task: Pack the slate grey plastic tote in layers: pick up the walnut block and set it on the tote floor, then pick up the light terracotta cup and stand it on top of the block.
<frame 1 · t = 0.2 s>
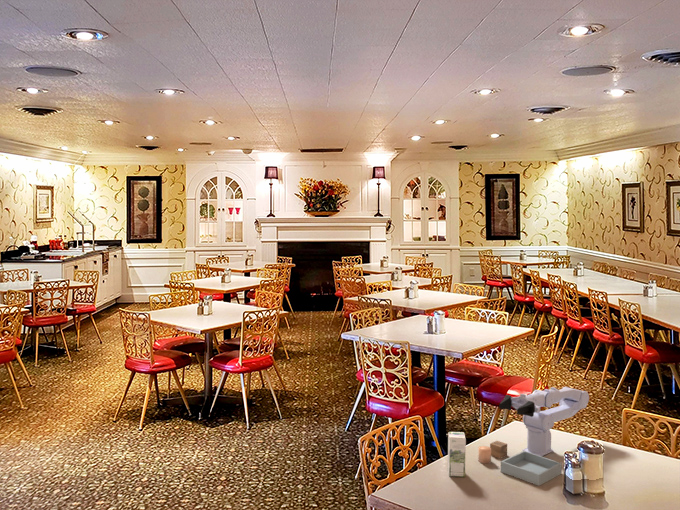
hand: (508, 408, 222), 21 cm above the table, tool horizontal, fingers open, 7 cm apart
tote: (530, 472, 216), on the table
syrup box: (456, 474, 215), on the table
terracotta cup: (484, 461, 226), on the table
walnut block: (498, 455, 232), on the table
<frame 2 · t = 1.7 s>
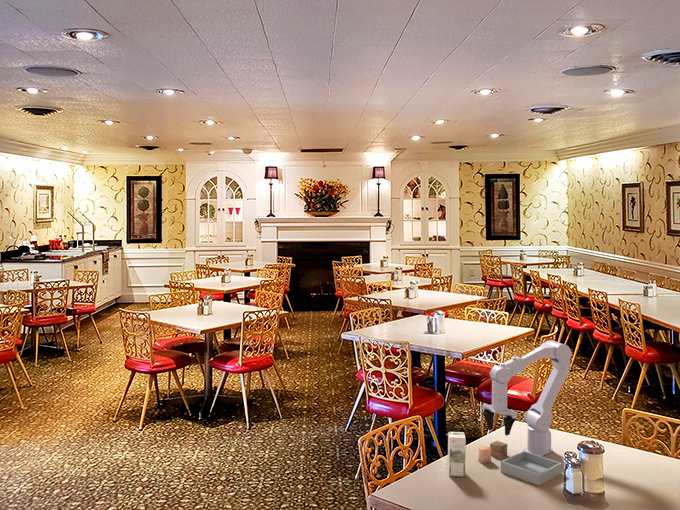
hand: (498, 432, 232), 9 cm above the table, tool pointing down, fingers open, 7 cm apart
nothing on the table moved.
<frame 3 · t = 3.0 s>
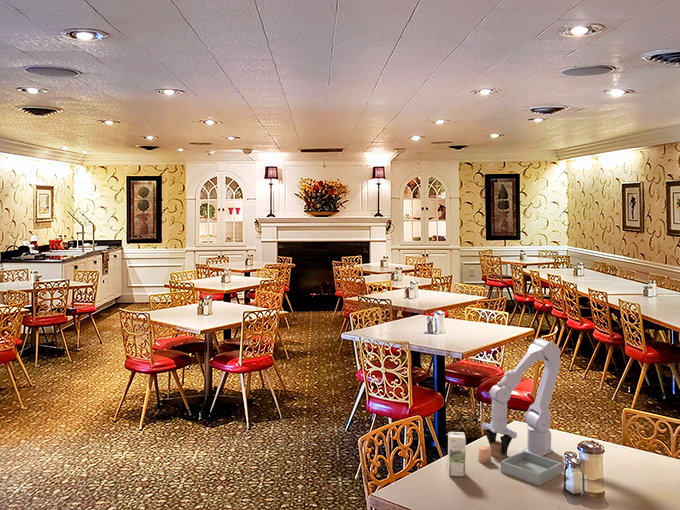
hand: (498, 451, 232), 1 cm above the table, tool pointing down, fingers closed on walnut block, 5 cm apart
walnut block: (498, 455, 232), on the table, touching gripper
everything else where it was.
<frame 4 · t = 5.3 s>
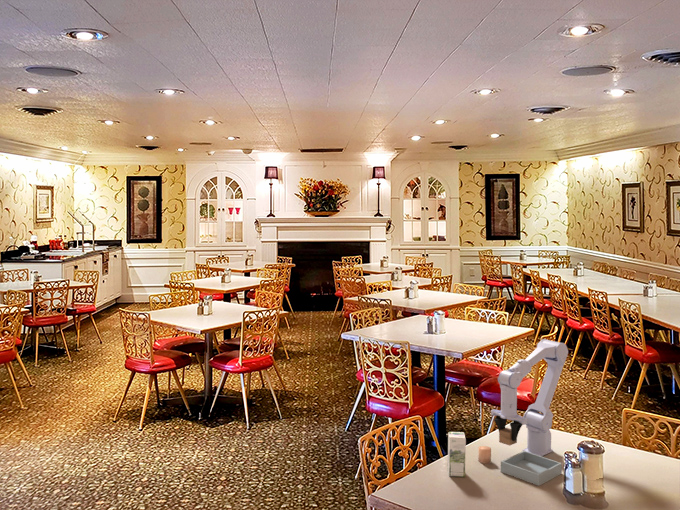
hand: (508, 438, 227), 8 cm above the table, tool pointing down, fingers closed on walnut block, 5 cm apart
walnut block: (507, 442, 227), point 7 cm above the table, touching gripper
everything else where it was.
when the fingers open (4 cm above the table, at t = 7.6 s): walnut block drops 1 cm, resting on tote.
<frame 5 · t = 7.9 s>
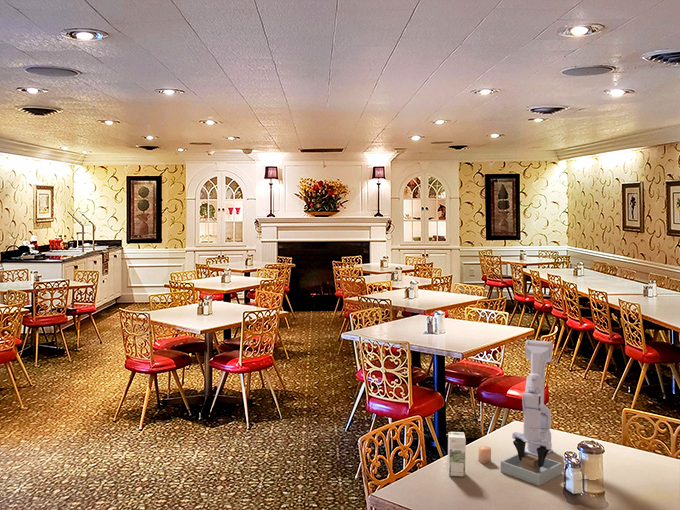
hand: (531, 463, 216), 4 cm above the table, tool pointing down, fingers open, 7 cm apart
walnut block: (530, 470, 216), point 1 cm above the table, touching tote
everything else where it was.
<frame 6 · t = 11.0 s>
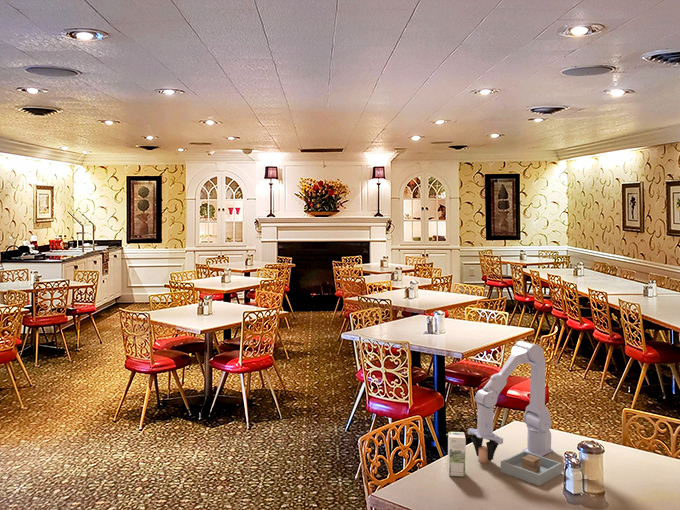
hand: (484, 457, 226), 1 cm above the table, tool pointing down, fingers closed on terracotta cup, 5 cm apart
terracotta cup: (484, 461, 226), on the table, touching gripper
everything else where it was.
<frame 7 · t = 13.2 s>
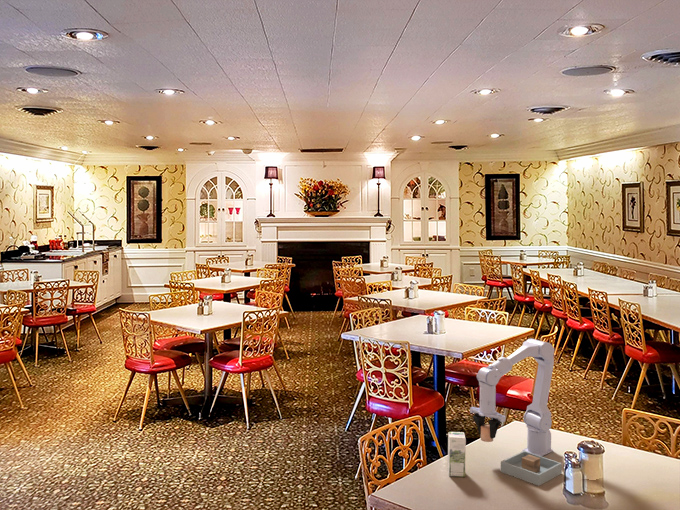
hand: (487, 435, 225), 10 cm above the table, tool pointing down, fingers closed on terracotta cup, 5 cm apart
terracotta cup: (486, 439, 225), point 8 cm above the table, touching gripper
everything else where it was.
when the fingers open (8 cm above the table, at t = 15.4 s): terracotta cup stays where it is, resting on walnut block.
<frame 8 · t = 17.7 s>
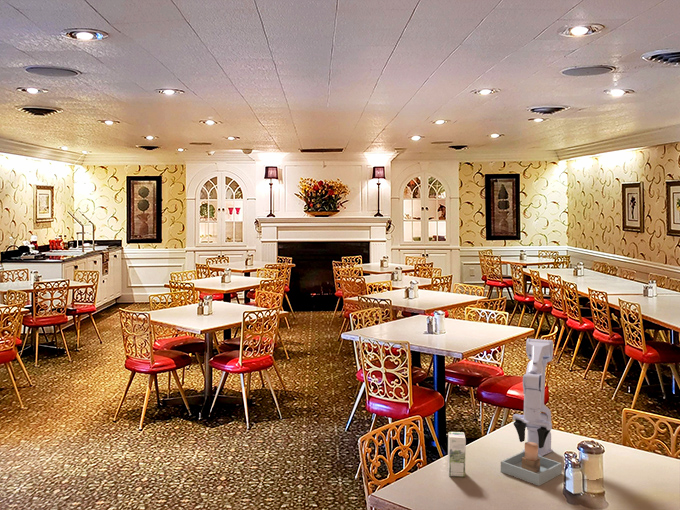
hand: (531, 444, 215), 10 cm above the table, tool pointing down, fingers open, 7 cm apart
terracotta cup: (531, 458, 216), point 5 cm above the table, touching walnut block
walnut block: (530, 470, 216), point 1 cm above the table, touching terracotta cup, tote
everything else where it was.
at the end: walnut block inside the target area on the tote (0.1 cm from its centre), point 0.8 cm above the tote's base; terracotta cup 0.1 cm off-centre on the walnut block, point 4.6 cm above the walnut block's base; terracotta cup tilted 0° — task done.
